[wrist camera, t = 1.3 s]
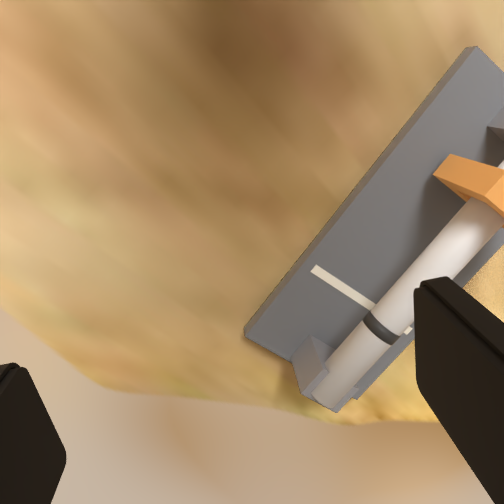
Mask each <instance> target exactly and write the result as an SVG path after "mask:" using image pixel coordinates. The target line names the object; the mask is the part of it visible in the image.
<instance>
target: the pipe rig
mask: <svg viewBox="0 0 504 504" xmlns="http://www.w3.org/2000/svg"><path fill="white" fill-rule="evenodd" d="M449 154H453V155H456V156H460V157H463V158H467V159H470V160H473V161H477V162H480V163H484V164H487V165H490V166H494V167H497V168H500V169H504V72H503V71H502V70H501V69H500V68H499V67H498V66H497V65H496V64H495V63H494V62H493V61H492V60H491V59H490V58H489V57H488V56H487V55H486V54H485V53H483V52H482V51H481V50H480V49H479V48H478V47H477V46H474V47H467V48H465V49H464V51H463V52H462V53H461V54H460V56H459V57H458V58H457V59H456V61H455V62H454V63H453V65H452V66H451V67H450V68H449V70H448V71H447V72H446V73H445V75H444V76H443V77H442V78H441V80H440V81H439V82H438V83H437V85H436V86H435V87H434V89H433V90H432V91H431V92H430V94H429V95H428V96H427V97H426V99H425V100H424V101H423V102H422V104H421V105H420V106H419V107H418V109H417V110H416V111H415V113H414V114H413V115H412V116H411V118H410V119H409V120H408V121H407V123H406V124H405V125H404V126H403V128H402V129H401V130H400V131H399V133H398V134H397V135H396V136H395V138H394V139H393V140H392V142H391V143H390V144H389V145H388V147H387V148H386V149H385V150H384V152H383V153H382V154H381V155H380V157H379V158H378V159H377V160H376V162H375V163H374V164H373V166H372V167H371V168H370V169H369V171H368V172H367V173H366V174H365V176H364V177H363V178H362V179H361V181H360V182H359V183H358V184H357V186H356V187H355V188H354V190H353V191H352V192H351V193H350V195H349V196H348V197H347V198H346V200H345V201H344V202H343V203H342V205H341V206H340V207H339V208H338V210H337V211H336V212H335V213H334V215H333V216H332V217H331V219H330V220H329V221H328V222H327V224H326V225H325V226H324V227H323V229H322V230H321V231H320V232H319V234H318V235H317V236H316V237H315V239H314V240H313V241H312V243H311V244H310V245H309V246H308V248H307V249H306V250H305V251H304V253H303V254H302V255H301V256H300V258H299V259H298V260H297V261H296V263H295V264H294V265H293V267H292V268H291V269H290V270H289V272H288V273H287V274H286V275H285V277H284V278H283V279H282V280H281V282H280V283H279V284H278V285H277V287H276V288H275V289H274V290H273V292H272V293H271V294H270V296H269V297H268V298H267V299H266V301H265V302H264V303H263V304H262V306H261V307H260V308H259V309H258V311H257V312H256V313H255V314H254V316H253V317H252V318H251V320H250V321H249V322H248V323H247V325H246V326H245V327H244V334H245V337H246V338H248V339H250V340H252V341H253V342H255V343H257V344H259V345H260V346H262V347H264V348H266V349H268V350H269V351H271V352H273V353H275V354H276V355H278V356H280V357H282V358H283V359H285V360H287V361H289V362H291V363H292V364H293V368H294V371H295V375H296V378H297V382H298V385H299V389H300V393H301V394H302V395H304V396H306V397H307V398H309V399H311V400H313V401H315V402H317V403H319V404H320V405H322V406H324V407H326V408H328V409H330V410H331V411H333V412H335V413H337V412H338V411H339V410H340V409H341V408H342V407H343V406H344V405H345V404H346V403H347V402H348V401H349V400H350V399H351V397H353V398H354V399H356V400H357V399H358V398H359V397H360V396H361V395H362V394H363V393H364V392H365V391H366V390H367V388H368V387H369V386H370V385H371V384H372V383H373V382H374V381H375V380H376V379H377V378H378V377H379V376H380V375H381V374H382V373H383V371H384V370H385V369H386V368H387V367H388V366H389V365H390V364H391V363H392V362H393V361H394V360H395V359H396V358H397V357H398V356H399V354H400V353H401V352H402V351H403V350H404V349H405V348H406V347H407V346H408V345H409V344H410V343H411V342H412V341H413V340H414V339H415V331H414V303H413V292H414V289H415V288H419V287H420V283H421V281H423V280H428V279H433V278H438V277H443V276H447V277H449V278H450V279H452V280H453V281H454V282H455V283H456V284H458V285H459V286H460V287H461V288H463V287H464V285H465V284H466V283H467V282H468V281H469V280H470V279H471V278H472V277H473V276H474V275H475V274H476V273H477V272H478V271H479V270H480V268H481V267H482V266H483V265H484V264H485V263H486V262H487V261H488V260H489V259H490V258H491V257H492V256H493V255H494V254H495V253H496V252H497V250H498V249H499V248H500V247H501V246H502V245H503V244H504V228H502V226H503V225H504V218H503V217H502V216H501V215H500V214H498V213H497V212H496V211H495V210H494V209H492V208H491V207H490V206H489V205H488V204H487V203H485V202H482V201H480V200H478V199H476V198H473V197H471V198H470V199H469V200H468V201H467V202H465V201H464V200H463V199H462V198H461V197H459V196H458V195H457V194H456V193H455V192H453V191H452V190H451V189H450V188H448V187H447V186H446V185H445V184H444V183H442V182H441V181H440V180H439V179H438V178H436V177H435V176H434V175H433V173H434V172H435V171H436V170H437V169H438V167H439V166H440V165H441V164H442V163H443V161H444V160H445V159H446V158H447V157H448V155H449Z"/></svg>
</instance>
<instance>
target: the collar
mask: <svg viewBox="0 0 504 504" xmlns="http://www.w3.org/2000/svg"><path fill="white" fill-rule="evenodd" d="M433 175H434V176H435V177H436V178H438V179H439V180H440V181H441V182H442V183H444V184H445V185H446V186H447V187H448V188H450V189H451V190H452V191H453V192H455V193H456V194H457V195H458V196H459V197H461V198H462V199H463V200H464V201H465V202H467V201H468V200H469V199H470V198H471V197H473V198H476V199H478V200H480V201H482V202H485V203H487V204H488V205H489V206H490V207H491V208H492V209H494V210H495V211H496V212H497V213H498V214H500V215H501V216H502V217H503V218H504V169H500V168H497V167H494V166H490V165H487V164H484V163H480V162H477V161H473V160H470V159H467V158H463V157H460V156H456V155H453V154H449V155H448V157H447V158H446V159H445V160H444V161H443V163H442V164H441V165H440V166H439V167H438V169H437V170H436V171H435V172H434V173H433ZM502 228H504V225H503V226H502Z"/></svg>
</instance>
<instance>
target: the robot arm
mask: <svg viewBox="0 0 504 504" xmlns="http://www.w3.org/2000/svg"><path fill="white" fill-rule="evenodd" d="M413 303H414V331H415V360H416V381H417V385H418V388H419V390H420V392H421V394H422V396H423V397H424V399H425V400H426V402H427V403H428V405H429V406H430V408H431V409H432V411H433V412H434V414H435V415H436V417H437V418H438V420H439V421H440V423H441V424H442V426H443V427H444V429H445V430H446V431H447V433H448V434H449V436H450V437H451V439H452V441H453V442H454V444H455V445H456V447H457V448H458V450H459V451H460V453H461V454H462V456H463V457H464V458H465V460H466V461H467V463H468V465H469V466H470V467H471V469H472V470H473V472H474V473H475V475H476V476H477V478H478V479H479V481H480V482H481V484H482V485H483V487H484V488H485V490H486V491H487V493H488V494H489V496H490V497H491V499H492V500H493V502H494V503H495V504H504V323H503V322H502V321H501V320H500V319H499V318H497V317H496V316H495V315H494V314H492V313H491V312H490V311H489V310H488V309H486V308H485V307H484V306H483V305H482V304H480V303H479V302H478V301H477V300H476V299H474V298H473V297H472V296H471V295H470V294H468V293H467V292H466V291H465V290H464V289H462V288H461V287H460V286H459V285H458V284H456V283H455V282H454V281H453V280H452V279H450V278H449V277H447V276H443V277H438V278H433V279H428V280H423V281H421V283H420V287H419V288H415V289H414V292H413ZM65 464H66V451H65V448H64V446H63V444H62V442H61V440H60V438H59V435H58V433H57V431H56V429H55V427H54V425H53V423H52V421H51V419H50V416H49V414H48V412H47V410H46V408H45V406H44V404H43V402H42V399H41V397H40V396H39V393H38V391H37V389H36V387H35V385H34V382H33V380H32V378H31V376H30V374H29V372H28V370H27V369H26V368H24V367H20V366H19V365H18V364H16V363H9V364H4V365H0V504H51V501H52V499H53V496H54V494H55V491H56V488H57V486H58V483H59V481H60V478H61V475H62V473H63V471H64V468H65Z"/></svg>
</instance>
